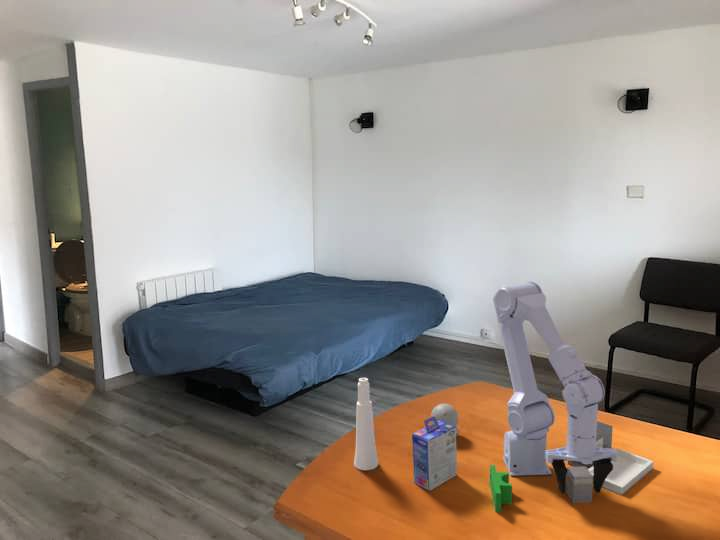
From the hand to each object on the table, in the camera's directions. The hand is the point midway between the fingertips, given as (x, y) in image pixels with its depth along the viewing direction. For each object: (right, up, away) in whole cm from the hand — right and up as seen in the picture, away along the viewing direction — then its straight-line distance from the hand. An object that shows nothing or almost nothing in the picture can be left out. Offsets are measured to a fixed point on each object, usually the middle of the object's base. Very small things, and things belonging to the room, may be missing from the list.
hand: (579, 490), depth 121 cm
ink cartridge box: (-30, -1, +9) cm, 31 cm away
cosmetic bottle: (-46, 0, +16) cm, 49 cm away
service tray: (+13, +1, +8) cm, 15 cm away
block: (0, -1, 0) cm, 2 cm away
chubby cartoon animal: (-25, +3, +31) cm, 40 cm away
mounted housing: (+9, +2, +16) cm, 18 cm away
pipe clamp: (-17, -2, +1) cm, 17 cm away
